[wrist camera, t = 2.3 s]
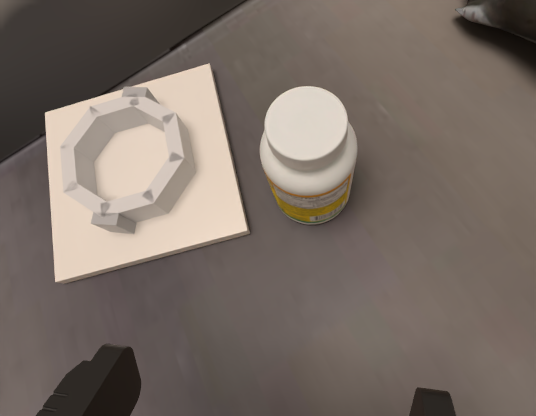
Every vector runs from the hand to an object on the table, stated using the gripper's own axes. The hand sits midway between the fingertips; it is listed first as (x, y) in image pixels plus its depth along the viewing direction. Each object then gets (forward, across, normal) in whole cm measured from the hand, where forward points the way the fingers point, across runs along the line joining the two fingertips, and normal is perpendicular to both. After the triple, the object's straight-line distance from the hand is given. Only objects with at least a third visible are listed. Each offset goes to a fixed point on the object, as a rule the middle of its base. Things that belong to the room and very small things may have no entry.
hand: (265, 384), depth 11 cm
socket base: (+18, +13, +2) cm, 23 cm away
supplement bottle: (+18, 0, +3) cm, 18 cm away
